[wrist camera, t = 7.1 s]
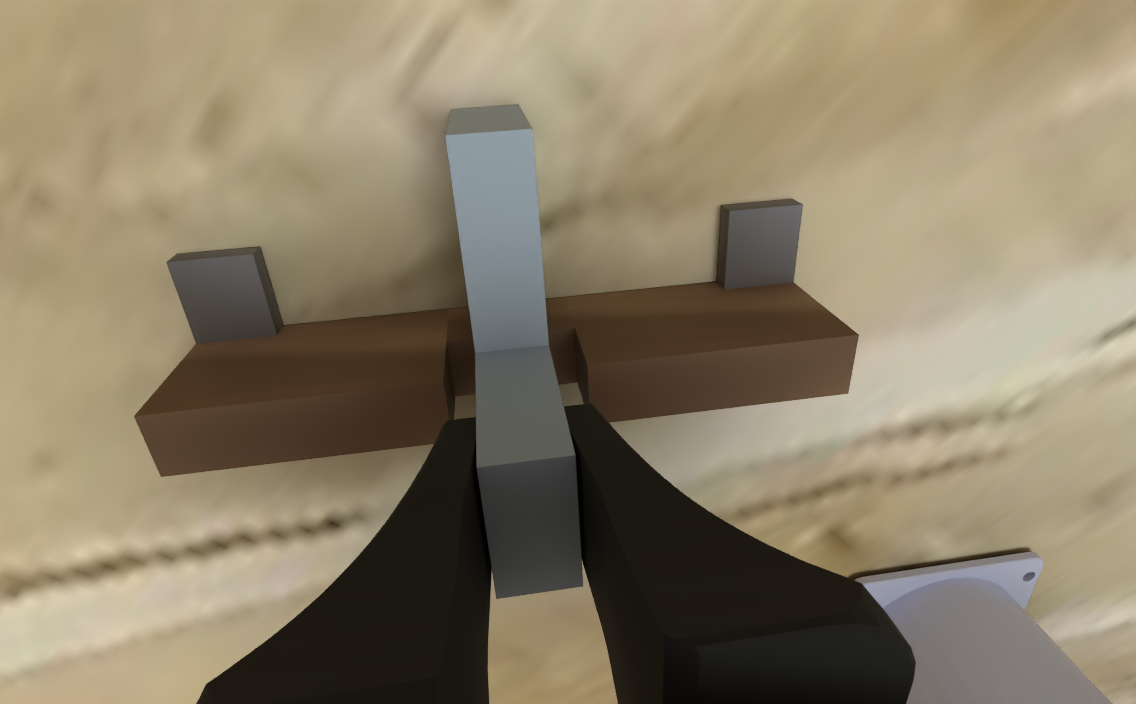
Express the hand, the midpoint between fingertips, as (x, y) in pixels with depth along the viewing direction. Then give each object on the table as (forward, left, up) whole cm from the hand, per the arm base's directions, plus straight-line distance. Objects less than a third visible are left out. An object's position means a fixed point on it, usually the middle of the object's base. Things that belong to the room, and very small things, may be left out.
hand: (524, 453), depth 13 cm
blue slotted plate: (0, 0, -6) cm, 6 cm away
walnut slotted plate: (0, 0, -6) cm, 6 cm away
